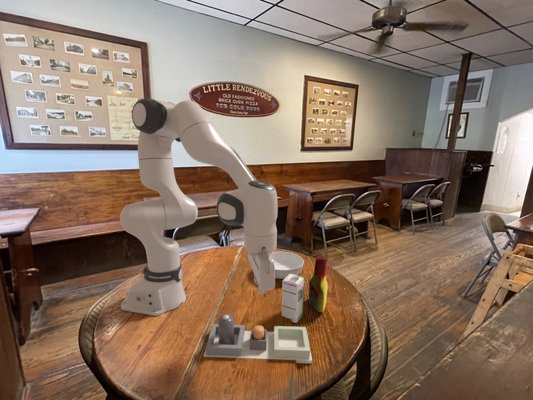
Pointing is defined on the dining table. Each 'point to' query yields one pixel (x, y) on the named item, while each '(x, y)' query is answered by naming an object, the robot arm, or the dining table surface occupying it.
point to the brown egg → (258, 332)
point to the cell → (226, 329)
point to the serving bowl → (286, 264)
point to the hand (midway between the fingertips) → (259, 288)
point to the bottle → (318, 284)
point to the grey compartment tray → (262, 344)
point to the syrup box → (292, 297)
